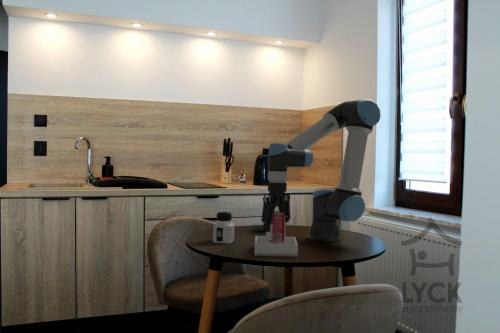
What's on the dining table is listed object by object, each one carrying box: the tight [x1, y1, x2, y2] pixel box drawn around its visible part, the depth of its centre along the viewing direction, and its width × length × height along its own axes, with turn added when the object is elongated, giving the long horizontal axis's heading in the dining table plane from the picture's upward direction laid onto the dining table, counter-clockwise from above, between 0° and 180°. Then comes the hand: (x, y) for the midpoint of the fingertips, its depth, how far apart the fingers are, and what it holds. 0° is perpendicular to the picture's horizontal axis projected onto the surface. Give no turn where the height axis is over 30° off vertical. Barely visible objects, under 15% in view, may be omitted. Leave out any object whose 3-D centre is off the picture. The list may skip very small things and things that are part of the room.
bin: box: [254, 235, 299, 258], centre depth 184 cm, size 17×17×4 cm
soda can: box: [267, 212, 286, 244], centre depth 183 cm, size 7×7×12 cm
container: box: [212, 211, 235, 244], centre depth 201 cm, size 8×8×13 cm
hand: (275, 238), depth 183 cm, fingers closed on soda can, 7 cm apart
